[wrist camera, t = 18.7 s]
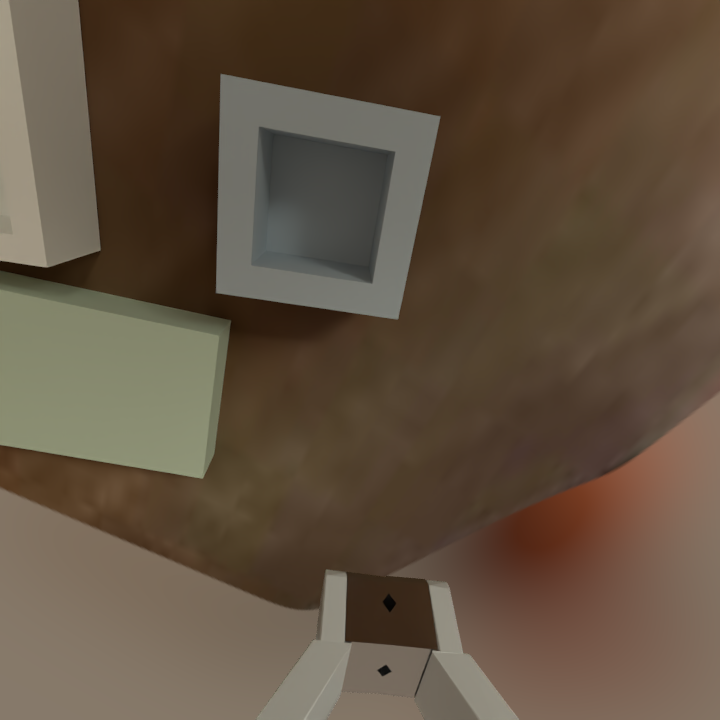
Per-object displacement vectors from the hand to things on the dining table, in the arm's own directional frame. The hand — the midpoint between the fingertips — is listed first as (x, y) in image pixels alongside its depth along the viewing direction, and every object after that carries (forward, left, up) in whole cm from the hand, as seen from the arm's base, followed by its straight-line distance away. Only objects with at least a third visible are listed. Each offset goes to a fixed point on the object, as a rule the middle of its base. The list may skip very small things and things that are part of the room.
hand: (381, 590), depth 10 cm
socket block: (+3, -8, -12) cm, 15 cm away
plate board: (+13, +2, -13) cm, 18 cm away
